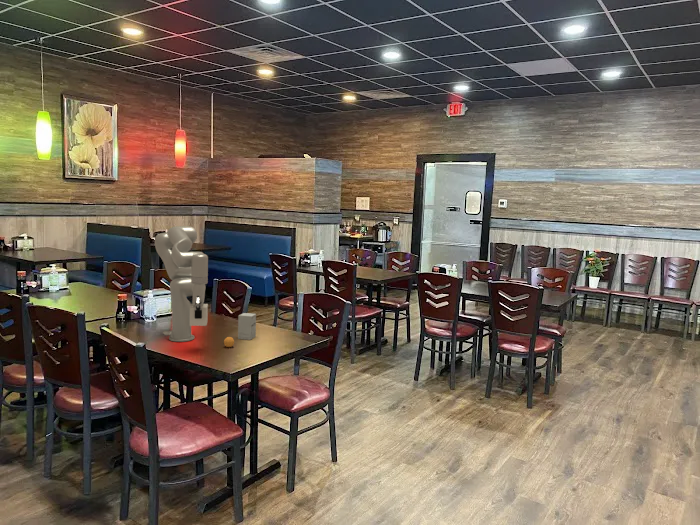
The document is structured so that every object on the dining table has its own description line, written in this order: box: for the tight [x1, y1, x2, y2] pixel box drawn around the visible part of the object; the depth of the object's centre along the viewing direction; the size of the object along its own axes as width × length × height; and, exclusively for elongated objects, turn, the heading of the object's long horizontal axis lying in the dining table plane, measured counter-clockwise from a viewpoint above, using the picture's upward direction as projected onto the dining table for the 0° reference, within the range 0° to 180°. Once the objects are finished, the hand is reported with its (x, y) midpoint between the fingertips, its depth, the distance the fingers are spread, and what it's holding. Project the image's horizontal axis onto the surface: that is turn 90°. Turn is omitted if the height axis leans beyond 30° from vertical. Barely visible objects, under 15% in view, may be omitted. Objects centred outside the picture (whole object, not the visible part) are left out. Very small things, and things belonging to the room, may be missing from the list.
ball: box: [223, 336, 235, 348], centre depth 269 cm, size 5×5×5 cm
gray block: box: [190, 303, 209, 327], centre depth 261 cm, size 8×8×9 cm
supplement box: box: [237, 312, 257, 341], centre depth 287 cm, size 7×7×13 cm
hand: (199, 316), depth 261 cm, fingers closed on gray block, 7 cm apart
